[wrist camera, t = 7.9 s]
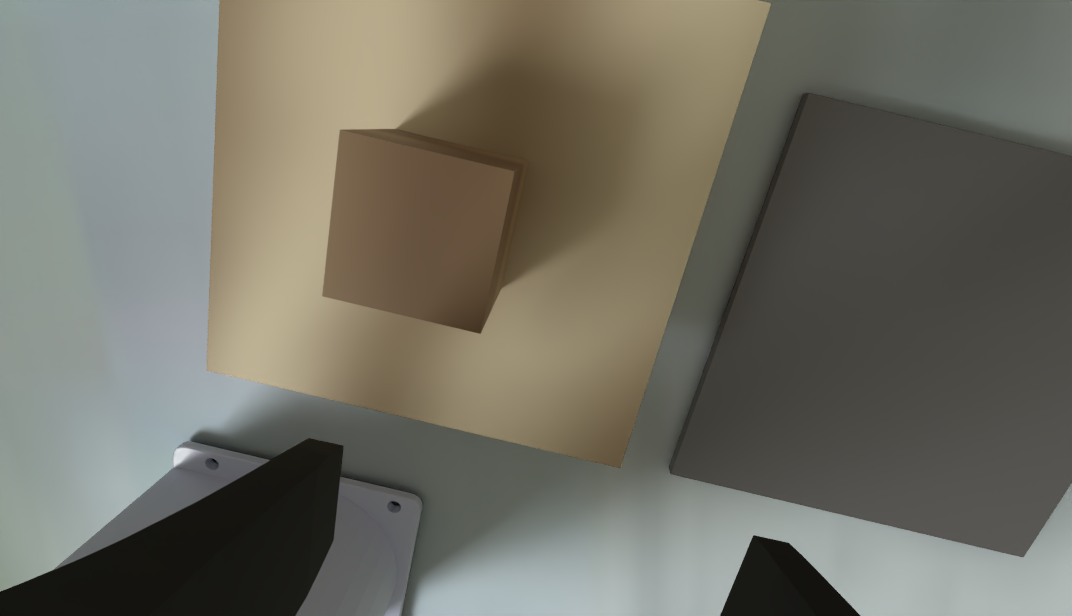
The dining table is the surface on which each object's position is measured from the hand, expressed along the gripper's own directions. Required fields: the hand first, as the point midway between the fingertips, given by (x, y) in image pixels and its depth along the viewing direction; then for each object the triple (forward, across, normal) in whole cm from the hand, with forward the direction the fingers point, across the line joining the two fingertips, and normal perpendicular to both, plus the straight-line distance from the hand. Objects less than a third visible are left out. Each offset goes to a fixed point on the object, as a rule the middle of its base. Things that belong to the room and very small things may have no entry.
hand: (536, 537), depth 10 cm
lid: (+5, +3, -4) cm, 7 cm away
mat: (+10, -12, -2) cm, 15 cm away
